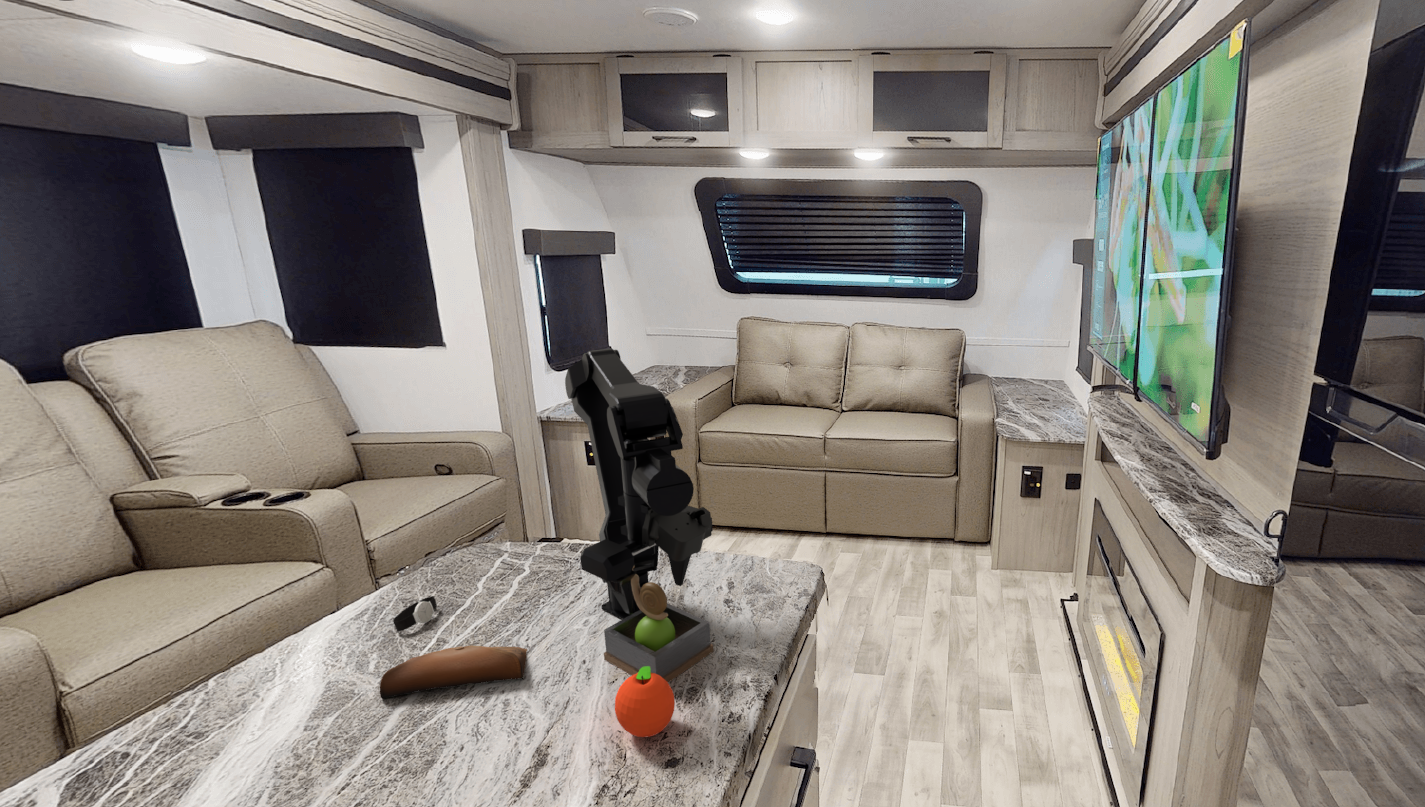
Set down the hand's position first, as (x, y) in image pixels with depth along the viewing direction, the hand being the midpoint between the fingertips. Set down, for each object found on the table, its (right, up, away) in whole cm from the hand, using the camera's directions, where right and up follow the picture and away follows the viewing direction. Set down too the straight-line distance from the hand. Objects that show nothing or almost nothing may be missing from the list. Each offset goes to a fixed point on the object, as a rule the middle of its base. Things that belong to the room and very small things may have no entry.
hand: (654, 598), depth 93 cm
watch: (-38, -8, +15) cm, 42 cm away
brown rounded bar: (-26, -11, +1) cm, 29 cm away
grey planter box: (0, -8, +2) cm, 9 cm away
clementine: (0, -12, -11) cm, 17 cm away
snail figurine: (0, -8, +1) cm, 8 cm away
